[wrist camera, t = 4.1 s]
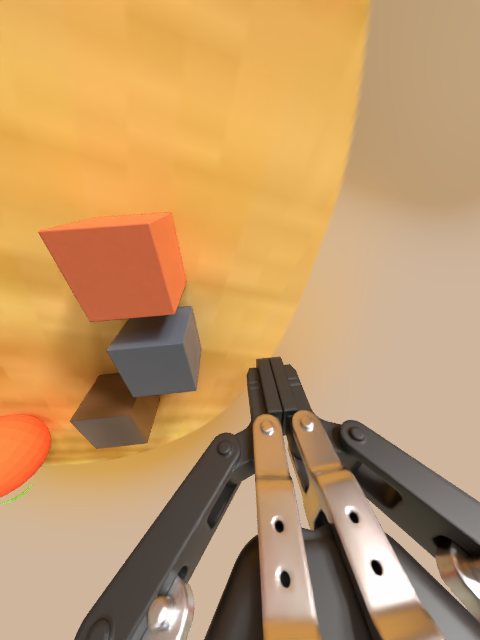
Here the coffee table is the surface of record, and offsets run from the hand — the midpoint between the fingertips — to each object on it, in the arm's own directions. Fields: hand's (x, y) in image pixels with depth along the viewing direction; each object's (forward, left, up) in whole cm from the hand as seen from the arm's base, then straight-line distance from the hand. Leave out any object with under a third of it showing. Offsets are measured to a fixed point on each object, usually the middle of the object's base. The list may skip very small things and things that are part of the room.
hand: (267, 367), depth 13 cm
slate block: (-7, 0, -5) cm, 9 cm away
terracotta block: (-7, +6, -5) cm, 11 cm away
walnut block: (-13, -7, -5) cm, 15 cm away
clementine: (-25, -10, -5) cm, 27 cm away
